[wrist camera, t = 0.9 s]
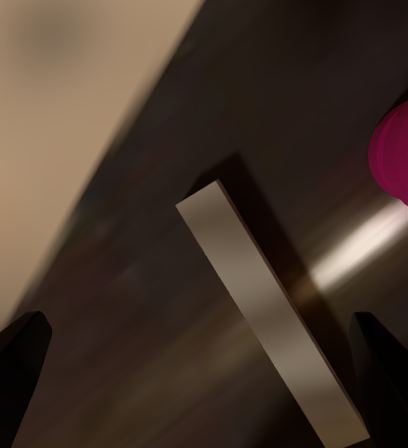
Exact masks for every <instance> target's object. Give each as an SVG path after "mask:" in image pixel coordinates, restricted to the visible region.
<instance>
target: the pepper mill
mask: <svg viewBox="0 0 408 448" xmlns="http://www.w3.org/2000/svg"><path fill="white" fill-rule="evenodd" d="M368 160H369V167H370V171H371V173H372V175H373V177H374V179H375V180H376V182H377V183H378V185H379V186H380V187H381V188H382V189H383V190H384V191H386V192H387V193H389V194H390V195H392V196H393V197H396V198H398V199H400V200H401V201H402V202H403V203H404V204H405V205H407V206H408V100H407V101H406V102H404V103H402V104H400V105H399V106H397V107H395V108H394V109H392V110H391V111H390V112H389V113H388V114H387V115H386V116H385V117H384V118H383V119H382V120H381V122H380V123H379V124H378V126H377V127H376V128H375V130H374V133H373V135H372V137H371V140H370V143H369V151H368Z"/></svg>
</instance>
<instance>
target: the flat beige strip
mask: <svg viewBox="0 0 408 448" xmlns="http://www.w3.org/2000/svg"><path fill="white" fill-rule="evenodd" d="M175 206H176V207H177V209H178V210H179V212H180V214H181V215H182V217H183V219H184V220H185V222H186V223H187V225H188V227H189V228H190V230H191V231H192V233H193V235H194V236H195V238H196V239H197V241H198V243H199V244H200V246H201V248H202V249H203V251H204V252H205V254H206V256H207V257H208V259H209V260H210V262H211V264H212V265H213V267H214V269H215V270H216V272H217V273H218V275H219V277H220V278H221V280H222V281H223V283H224V285H225V286H226V288H227V290H228V291H229V293H230V294H231V296H232V298H233V299H234V301H235V302H236V304H237V306H238V307H239V309H240V310H241V312H242V314H243V315H244V317H245V319H246V320H247V322H248V323H249V325H250V327H251V328H252V330H253V331H254V333H255V335H256V336H257V338H258V340H259V341H260V343H261V344H262V346H263V348H264V349H265V351H266V352H267V354H268V356H269V357H270V359H271V361H272V362H273V364H274V365H275V367H276V369H277V370H278V372H279V373H280V375H281V377H282V378H283V380H284V381H285V383H286V385H287V386H288V388H289V390H290V391H291V393H292V394H293V396H294V398H295V399H296V401H297V402H298V404H299V406H300V407H301V409H302V411H303V412H304V414H305V415H306V417H307V419H308V420H309V422H310V423H311V425H312V427H313V428H314V430H315V432H316V433H317V435H318V436H319V438H320V440H321V441H322V443H323V444H324V446H325V448H344V447H347V446H349V445H352V444H355V443H357V442H360V441H363V440H365V439H368V438H370V436H369V434H368V431H367V429H366V426H365V424H364V422H363V419H362V417H361V415H360V413H359V412H358V410H357V408H356V407H355V405H354V403H353V402H352V400H351V398H350V397H349V395H348V393H347V392H346V390H345V388H344V387H343V385H342V383H341V382H340V380H339V378H338V377H337V375H336V373H335V372H334V370H333V368H332V367H331V365H330V363H329V362H328V360H327V358H326V357H325V355H324V353H323V352H322V350H321V348H320V347H319V345H318V343H317V342H316V340H315V338H314V337H313V335H312V333H311V332H310V330H309V328H308V327H307V325H306V323H305V322H304V320H303V318H302V317H301V315H300V313H299V312H298V310H297V308H296V307H295V305H294V303H293V302H292V300H291V298H290V297H289V295H288V293H287V292H286V290H285V288H284V287H283V285H282V283H281V282H280V280H279V278H278V277H277V275H276V273H275V272H274V270H273V268H272V267H271V265H270V263H269V262H268V260H267V258H266V257H265V255H264V253H263V252H262V250H261V248H260V247H259V245H258V243H257V242H256V240H255V238H254V237H253V235H252V233H251V232H250V230H249V228H248V227H247V225H246V223H245V222H244V220H243V218H242V217H241V215H240V213H239V212H238V210H237V208H236V207H235V205H234V203H233V202H232V200H231V198H230V197H229V195H228V193H227V192H226V190H225V188H224V187H223V185H222V183H221V182H220V180H219V179H218V180H216V181H214V182H213V183H211V184H209V185H208V186H206V187H204V188H203V189H201V190H200V191H198V192H196V193H195V194H193V195H191V196H190V197H188V198H187V199H185V200H183V201H182V202H180V203H178V204H177V205H175Z"/></svg>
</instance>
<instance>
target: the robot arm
mask: <svg viewBox="0 0 408 448" xmlns="http://www.w3.org/2000/svg"><path fill="white" fill-rule="evenodd" d="M51 337H52V328H51V326H50V324H49V322H48V321H47V319H46V317H45V316H44V314H43V313H42V312H40V311H29V312H26V313H24V314H23V315H22V316H20V317H19V318H18V319H17V320H15V321H14V322H13V323H11V324H10V325H9V326H7V327H6V328H5V329H4V330H2V331H1V332H0V448H11V446H12V443H13V441H14V439H15V436H16V434H17V431H18V429H19V426H20V424H21V422H22V419H23V417H24V414H25V412H26V410H27V407H28V405H29V402H30V400H31V397H32V395H33V393H34V390H35V387H36V385H37V382H38V379H39V376H40V373H41V369H42V366H43V363H44V360H45V356H46V353H47V350H48V347H49V343H50V340H51ZM349 341H350V346H351V351H352V357H353V362H354V367H355V372H356V378H357V383H358V388H359V393H360V397H361V401H362V404H363V408H364V411H365V414H366V417H367V421H368V424H369V427H370V430H371V433H372V437H373V440H374V443H375V446H376V448H408V350H407V349H406V348H405V347H404V346H403V345H402V344H401V343H400V342H399V341H398V340H397V339H396V338H395V337H394V336H393V335H392V334H391V333H390V332H389V331H388V330H387V329H386V327H385V326H384V325H383V324H382V323H381V322H380V321H379V320H378V319H377V318H376V317H375V316H374V315H373V314H372V313H370V312H368V311H355V312H353V314H352V318H351V322H350V327H349Z"/></svg>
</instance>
